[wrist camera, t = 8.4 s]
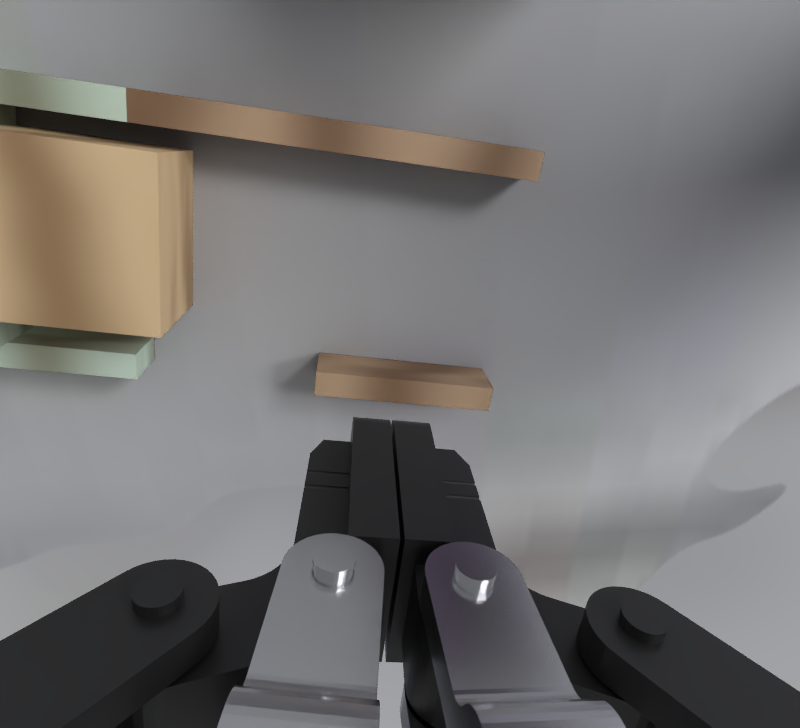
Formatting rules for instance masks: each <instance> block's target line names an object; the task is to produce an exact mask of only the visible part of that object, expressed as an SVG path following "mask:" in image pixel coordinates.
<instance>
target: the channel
mask: <svg viewBox="0 0 800 728" xmlns="http://www.w3.org/2000/svg"><path fill="white" fill-rule="evenodd" d="M15 106H19V107H26V108H33V109H40V110H46V111H53V112H60V113H67V114H74V115H81V116H88V117H95V118H102V119H108V120H115V121H122V122H129V123H136V124H143V125H150V126H157V127H164V128H170V129H177V130H184V131H191V132H198V133H205V134H212V135H219V136H226V137H232V138H239V139H246V140H253V141H260V142H267V143H274V144H281V145H287V146H294V147H301V148H308V149H315V150H322V151H329V152H336V153H343V154H349V155H356V156H363V157H370V158H377V159H384V160H391V161H398V162H405V163H411V164H418V165H425V166H432V167H439V168H446V169H453V170H460V171H466V172H473V173H480V174H487V175H494V176H501V177H508V178H515V179H522V180H528V181H535V182H539V178H540V173H541V168H542V164H543V159H544V155H545V152H544V151H537V150H530V149H524V148H517V147H511V146H504V145H498V144H491V143H485V142H478V141H472V140H465V139H458V138H452V137H445V136H439V135H432V134H426V133H419V132H413V131H406V130H400V129H393V128H386V127H380V126H373V125H367V124H360V123H354V122H347V121H341V120H334V119H327V118H321V117H314V116H308V115H301V114H295V113H288V112H282V111H275V110H269V109H262V108H255V107H249V106H242V105H236V104H229V103H223V102H216V101H210V100H203V99H196V98H190V97H183V96H177V95H170V94H164V93H157V92H151V91H144V90H138V89H131V88H124V87H118V86H111V85H105V84H98V83H92V82H85V81H79V80H72V79H66V78H59V77H52V76H46V75H39V74H33V73H26V72H20V71H13V70H7V69H0V125H16V126H17V121H16V112H15ZM153 360H154V337H144V336H134V335H124V334H115V333H105V332H95V331H85V330H75V329H65V328H55V327H45V326H35V325H25V324H15V323H5V322H0V367H5V368H16V369H27V370H38V371H49V372H60V373H72V374H83V375H94V376H105V377H116V378H127V379H137V378H138V377H139V376H140V375H141V374H142V373H143V371H144V370H145V369H146V368H147V367H148V366H149V365H150V364H151V362H152V361H153ZM492 393H493V387H492V385H491V384H490V382H489V380H488V378H487V377H486V375H485V373H484V371H483V370H482V369H478V368H468V367H458V366H448V365H438V364H428V363H418V362H408V361H397V360H387V359H377V358H367V357H357V356H347V355H337V354H327V353H319V357H318V364H317V371H316V381H315V392H314V395H317V396H328V397H340V398H351V399H362V400H373V401H384V402H395V403H407V404H418V405H429V406H440V407H451V408H462V409H474V410H485V411H489V406H490V402H491V397H492Z"/></svg>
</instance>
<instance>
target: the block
mask: <svg viewBox="0 0 800 728" xmlns="http://www.w3.org/2000/svg"><path fill="white" fill-rule="evenodd" d="M192 305H193V150H187V149H180V148H173V147H166V146H159V145H152V144H145V143H138V142H131V141H124V140H117V139H110V138H103V137H96V136H89V135H82V134H75V133H68V132H61V131H54V130H47V129H40V128H33V127H26V126H16V125H0V322H5V323H15V324H25V325H35V326H45V327H55V328H65V329H75V330H85V331H95V332H105V333H115V334H124V335H134V336H144V337H154V338H161V337H162V336H163V335H164V334H165V333H166V332H167V331H168V330H169V329H170V328H171V327H172V326H173V325H174V324H175V323H176V322H177V321H178V320H179V319H180V318H181V317H182V316H183V314H184V313H185V312H186V311H187V310H188V309H189V308H190V307H191V306H192Z"/></svg>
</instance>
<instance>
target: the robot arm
mask: <svg viewBox="0 0 800 728" xmlns="http://www.w3.org/2000/svg"><path fill="white" fill-rule="evenodd" d="M474 483H475V482H474V479H473V476H472V473H471V469H470V466H469V465H468V464H467V463H466V462H465V461H464V460H463V459H462V458H461V457H460V456H459V455H458V454H457V452H456V451H455V450H446V449H435V445H434V441H433V436H432V432H431V427H430V424H429V423H418V422H407V421H395V420H393V421H392V424H391V423H390V420H382V419H370V418H358V417H353V423H352V432H351V442H344V441H332V440H323V441H322V442H321V443H320V444H319V445H318V446H317V447H316V448H315V449H314V450H313V451H312V452H311V453H310V458H309V464H308V469H307V475H306V481H305V488H304V492H303V498H302V503H301V509H300V515H299V520H298V526H297V532H296V537H295V542H294V546H292V547H291V548H290V549H289V550H288V552H287V553H286V554H285V556H284V558H283V561H282V563H281V564H280V565H279V566H278V567H277V568H275V569H274V570H272V571H271V572H269V573H267V574H265V575H263V576H260V577H257V578H255V579H251V580H247V581H243V582H237V583H232V584H227V585H222V586H218V583H217V581H216V579H215V578H214V576H213V575H212V574H211V573H210V572H209V571H208V570H207V569H206V568H204V567H202V566H201V565H198V564H196V563H193V562H189V561H185V560H175V559H173V560H159V561H153V562H149V563H145V564H142V565H139V566H136V567H134V568H132V569H130V570H128V571H126V572H124V573H122V574H120V575H118V576H117V577H115V578H113V579H111V580H109V581H108V582H106V583H104V584H102V585H100V586H99V587H97V588H95V589H93V590H91V591H90V592H88V593H86V594H84V595H82V596H80V597H79V598H77V599H75V600H73V601H71V602H70V603H68V604H66V605H64V606H63V607H61V608H59V609H57V610H55V611H53V612H52V613H50V614H48V615H46V616H44V617H43V618H41V619H39V620H37V621H35V622H34V623H32V624H30V625H28V626H27V627H25V628H23V629H21V630H19V631H17V632H16V633H14V634H12V635H10V636H8V637H7V638H5V639H3V640H1V641H0V728H379V719H380V702H379V700H377V686H378V670H379V662H381V661H382V655H383V649H384V642H385V651H386V662H403V668H404V688H403V693H402V699H401V706H400V715H401V716H400V717H401V724H402V728H800V692H799V691H798V690H796V689H795V688H793V687H792V686H790V685H789V684H787V683H785V682H784V681H782V680H781V679H779V678H778V677H776V676H775V675H773V674H772V673H770V672H769V671H767V670H766V669H764V668H762V667H761V666H760V665H758V664H756V663H755V662H753V661H752V660H750V659H749V658H747V657H746V656H744V655H743V654H741V653H740V652H738V651H737V650H735V649H734V648H732V647H731V646H729V645H728V644H726V643H725V642H723V641H721V640H720V639H719V638H717V637H715V636H714V635H712V634H711V633H709V632H708V631H706V630H705V629H703V628H702V627H700V626H699V625H697V624H696V623H694V622H693V621H691V620H690V619H688V618H687V617H685V616H683V615H682V614H680V613H679V612H677V611H676V610H674V609H673V608H671V607H670V606H668V605H667V604H665V603H663V602H662V601H660V600H659V599H657V598H655V597H653V596H651V595H649V594H646V593H644V592H641V591H638V590H635V589H631V588H626V587H606V588H602V589H599V590H598V591H596V592H594V593H593V594H592V595H591V596H590V598H589V600H588V602H587V605H586V608H582V607H578V606H575V605H572V604H569V603H565V602H562V601H559V600H556V599H552V598H549V597H546V596H544V595H541V594H539V593H537V592H535V591H532V590H531V589H529V588H528V587H527V585H526V583H525V581H524V579H523V576H522V574H521V573H520V571H519V569H518V568H517V567H516V565H515V564H514V563H513V562H512V561H511V560H510V559H509V558H507V557H506V556H505V555H503V554H502V553H500V552H498V551H496V548H495V545H494V542H493V539H492V536H491V533H490V529H489V526H488V523H487V520H486V517H485V514H484V510H483V507H482V504H481V501H480V500H479V495H478V491H477V488H476V486H474Z"/></svg>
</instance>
